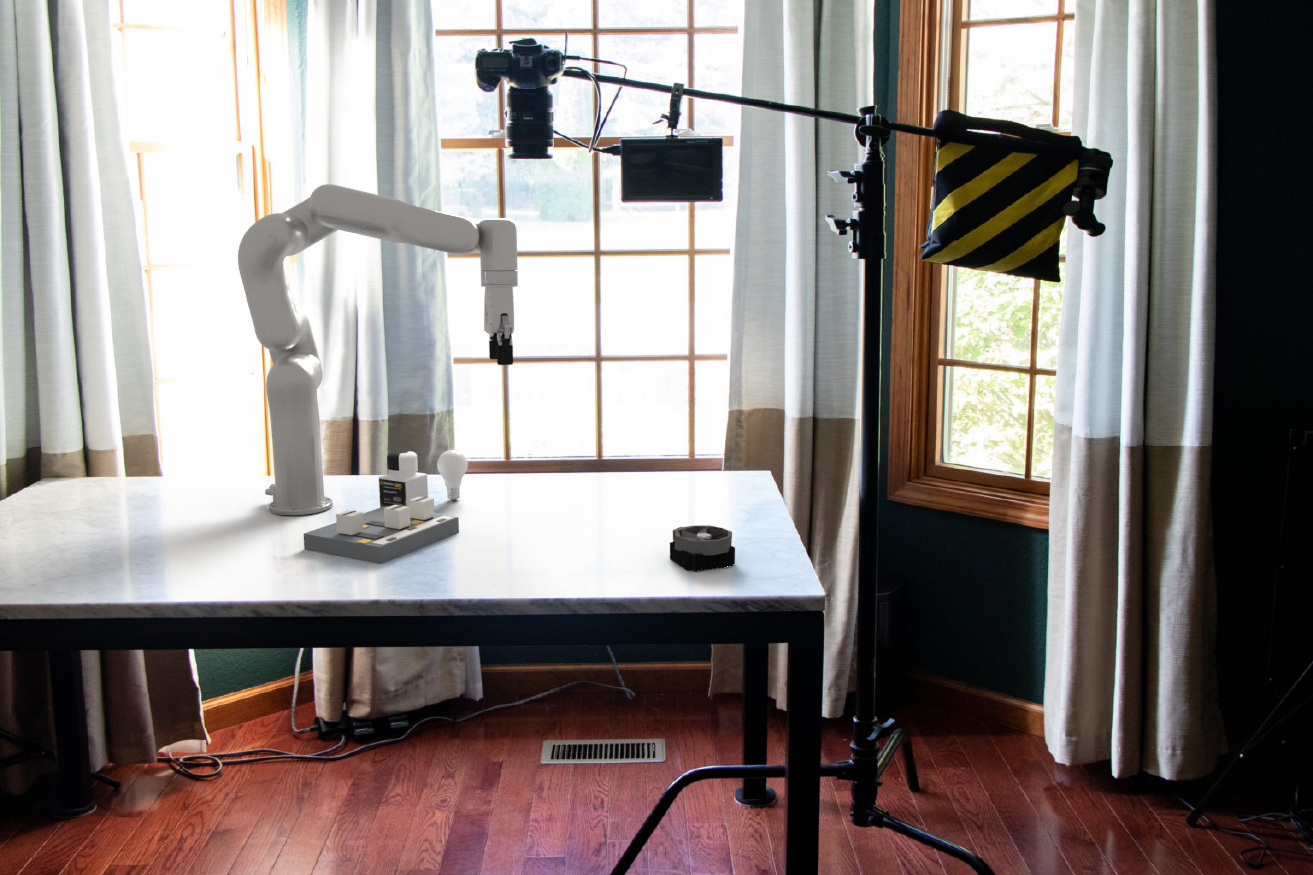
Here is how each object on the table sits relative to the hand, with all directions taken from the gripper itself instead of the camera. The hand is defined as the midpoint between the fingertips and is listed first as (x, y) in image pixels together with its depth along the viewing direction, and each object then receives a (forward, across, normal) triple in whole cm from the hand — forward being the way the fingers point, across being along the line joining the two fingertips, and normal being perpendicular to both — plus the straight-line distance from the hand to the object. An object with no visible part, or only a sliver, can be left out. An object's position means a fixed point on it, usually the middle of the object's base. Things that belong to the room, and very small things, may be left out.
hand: (501, 361), depth 226 cm
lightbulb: (+30, -3, -10) cm, 32 cm away
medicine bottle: (+30, +1, -21) cm, 37 cm away
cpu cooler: (+30, +53, +26) cm, 66 cm away
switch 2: (+27, +26, -24) cm, 44 cm away
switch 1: (+27, +27, -33) cm, 50 cm away
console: (+30, +23, -27) cm, 46 cm away
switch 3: (+27, +21, -19) cm, 39 cm away
